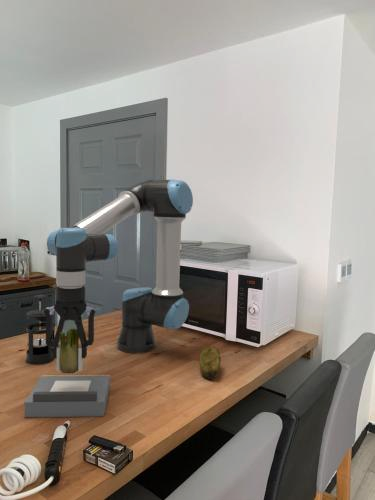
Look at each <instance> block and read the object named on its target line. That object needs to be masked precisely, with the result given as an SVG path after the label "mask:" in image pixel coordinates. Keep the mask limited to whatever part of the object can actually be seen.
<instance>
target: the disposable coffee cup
mask: <svg viewBox="0 0 375 500" xmlns="http://www.w3.org/2000/svg"><path fill="white" fill-rule="evenodd" d="M84 315H85V312H84V313H83V314H82V315H81V318H82V322H83V320H84ZM71 328H73V329H76V328H77V327H76V324H75V321H73V320H66V321H65V324H64V327H63V331H62V332H64V333H65V338H66V335H67V331H68V330H70V329H71Z"/></svg>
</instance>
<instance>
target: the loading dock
mask: <svg viewBox="0 0 375 500" xmlns="http://www.w3.org/2000/svg"><path fill="white" fill-rule="evenodd" d="M110 388H111V374H90V375H89V374H88V375H87V374H85V375H83V374H82V375H81V374H75V375H74V374H72V375H71V374H68V375H67V374H65V375H64V374H62V375H61V374H60V375H59V374H58V375H57V374H55V375H53V374H51V375H50V374H48V375H47V374H44V375H41V376H40V378H39V379H38V380H37V382H36V383H35V385H34V387H33V388H32V390H31V392H30V393H29V395H28V397H27V398H26V400H25V401H24V418H55V417H56V418H61V417H63V418H65V417H66V418H67V417H68V418H69V417H71V418H73V417H74V418H75V417H76V418H77V417H81V418H82V417H104V416H105V412H106V407H107V402H108V397H109V393H110Z"/></svg>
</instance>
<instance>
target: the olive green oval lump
mask: <svg viewBox="0 0 375 500" xmlns="http://www.w3.org/2000/svg"><path fill="white" fill-rule="evenodd" d="M221 362H222V357H221V354H220V351H219V349H218V348H217V347H216V346H206V347H204V348H203V349H202V351H200V354H199V371H200V373H201V375H202V376H203V377H204V378H206V379H209V380H212V379H215V378H216V377H217V376H219V372H220V369H221Z"/></svg>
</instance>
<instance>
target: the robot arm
mask: <svg viewBox="0 0 375 500" xmlns="http://www.w3.org/2000/svg"><path fill="white" fill-rule="evenodd" d="M193 204H194V196H193V192H192V190H191V188H190V186H189V184H188V183H187V182H186V181H184V180H180V179H146V180H144V181H140V182H138V183H135V184H134V185H131V186H130V187H127V188H126V189H124V190H123V191H121V192H120V193H119V194H118V196H117V198H115V199H114V200H112V201H110V202H109V203H107V204H106V205H104V206H102V207H101V208H100V209H97V210H96V211H94V212H92V213H91V214H89V215H88V216H86V217H85V218H83V219H82V220H80V221H78V222H77V223H75V224H73V225H72V226H70V227H61V228H58V230H54V231H52V232H50V234H48V236H47V239H46V246H47V249H48V251H49V252H50V253H52V254H53V255H55V258H56V260H55V262H56V265H55V267H56V268H55V269H56V273H55V274H56V275H55V284H56V285H57V287H56V288H55V303H54V305H53V306H47V307H46V308H45V309H43V310H44V313H45V316H46V321H45V323H46V327H45V330H46V333H45V338H46V345H51V346H52V348H53V358H54V359H56V372H61V370H60V366H59V356H60V333H61V332H63V327H64V324H65V321H66V320H73V321H75V324H76V327H77V331H78V335H79V343H80V345H79V355H78V371H77V372H82V370H83V368H84V365H83V363H84V359H86V358H87V356H88V346H92V345H94V340H95V314H96V312H97V309H96V307H89V306H88V305H87V302H86V287H85V284H86V271H87V270H86V269H87V268H86V266H87V263H88V262H89V263H90V262H96V261H97V262H98V261H107V260H112V259H113V258H114V257H116V255H117V254H118V251H119V242H118V239H117V238H116V237H115V236H114V235H112V234H110V233H108V234H107V232H108V231H109V230H111V229H112V228H114V227H116V226H117V225H118V224H120V223H121V222H123V221H125V220H126V219H127V218H129V217H134V216H136V215H138V214H139V213H144V212H152V213H153V218H154V220H156V222H157V229H156V230H157V232H156V234H157V237H156V267H155V268H156V275H155V287H154V288H152V287H134V288H130V289H126V290H124V292H123V294H122V300H121V302H122V303H121V308H122V310H121V311H122V312H121V315H122V316H121V322H122V323H121V329H120V332H119V334H118V338H117V341H116V347H117V349H118V350H119V351H121V352H125V353H130V354H142V353H147V352H151V351H153V350H155V349H156V345H157V339H156V337H155V333H154V330H153V326H157V327H160V328H164V329H170V330H171V329H172V330H177V329H179V328H181V327H182V326H183V325H184V323H185V322H186V320H187V318H188V315H189V311H190V303H189V301H188V300H187V299H186V298H184V291H183V290H182V288H180V272H181V244H182V223H183V222H184V220H186V217H187V214H188V213H190V212H191V211H192V207H193ZM55 312H56V313H57V315H58V316H59V320H58V324H57V328H56V331H55V333H54V340H53V339H52V334H53V323H54V314H55ZM85 312H86V315H87V316H88V319H87V326H88V327H87V330H88V331H87V332H88V333H87V336H88V337H87V336H86V332H85V328H84V325H83V321H82V318H81V315H82V314H83V313H84V314H85ZM87 338H88V339H87Z"/></svg>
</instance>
